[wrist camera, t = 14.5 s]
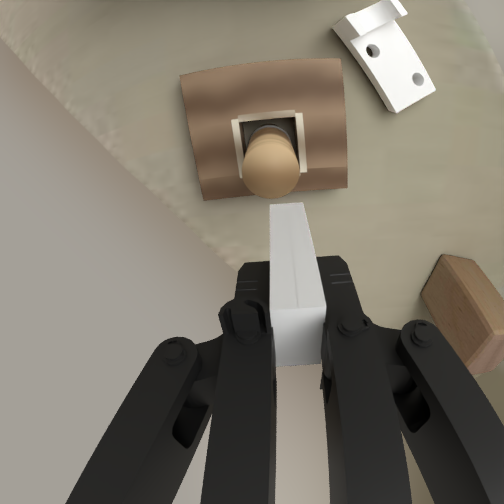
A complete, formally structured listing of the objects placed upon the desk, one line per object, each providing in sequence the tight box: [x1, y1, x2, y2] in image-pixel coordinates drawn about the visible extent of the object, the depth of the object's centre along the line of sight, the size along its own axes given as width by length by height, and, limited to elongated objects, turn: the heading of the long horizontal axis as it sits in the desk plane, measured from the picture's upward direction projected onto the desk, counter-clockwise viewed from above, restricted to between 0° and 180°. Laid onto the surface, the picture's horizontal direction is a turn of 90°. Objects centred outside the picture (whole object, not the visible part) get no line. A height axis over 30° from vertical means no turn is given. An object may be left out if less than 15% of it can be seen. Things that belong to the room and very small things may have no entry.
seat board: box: [180, 58, 347, 201], centre depth 32 cm, size 16×18×4 cm
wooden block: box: [421, 254, 504, 375], centre depth 37 cm, size 10×10×20 cm
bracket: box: [332, 0, 436, 113], centre depth 24 cm, size 13×7×8 cm, turn 38°
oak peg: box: [242, 124, 300, 199], centre depth 29 cm, size 5×5×14 cm
